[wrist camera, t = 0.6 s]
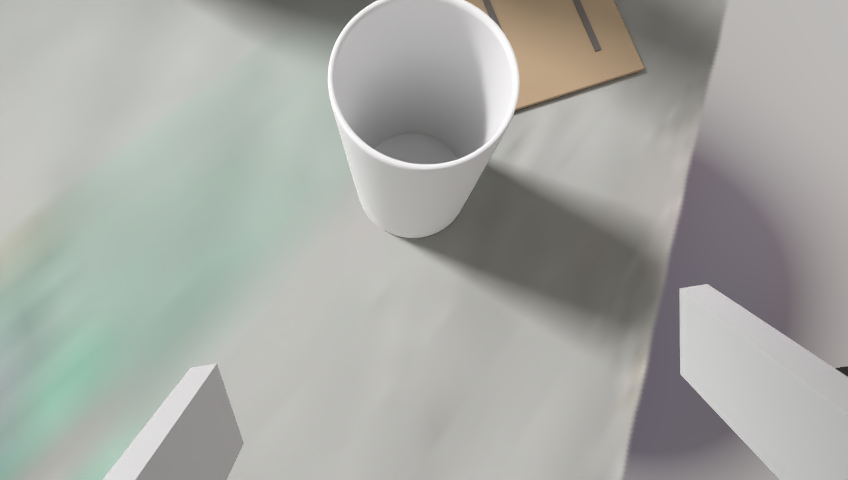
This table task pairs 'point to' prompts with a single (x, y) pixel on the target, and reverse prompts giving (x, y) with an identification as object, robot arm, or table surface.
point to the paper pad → (563, 44)
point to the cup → (420, 107)
